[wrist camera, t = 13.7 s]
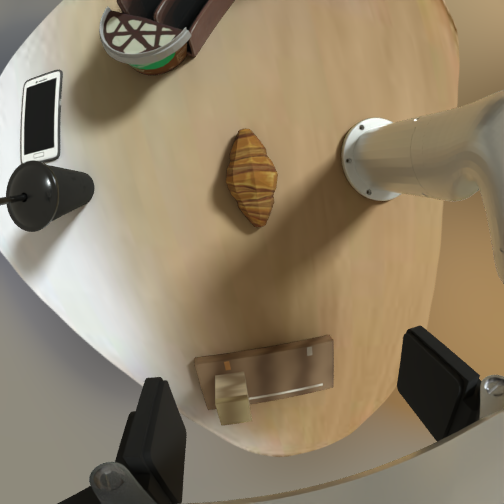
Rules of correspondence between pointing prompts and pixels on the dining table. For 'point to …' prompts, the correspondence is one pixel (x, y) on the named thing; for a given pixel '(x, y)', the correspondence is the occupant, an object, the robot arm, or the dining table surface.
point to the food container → (143, 42)
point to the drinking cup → (44, 194)
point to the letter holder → (181, 16)
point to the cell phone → (41, 117)
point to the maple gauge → (232, 398)
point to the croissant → (251, 177)
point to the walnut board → (273, 370)
